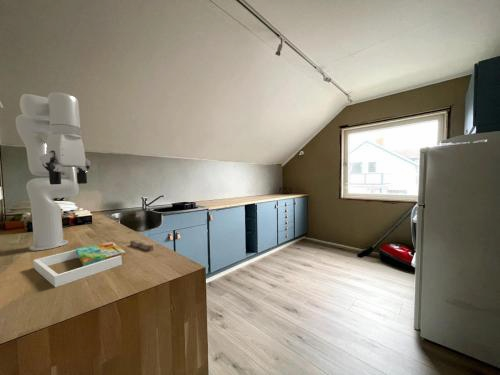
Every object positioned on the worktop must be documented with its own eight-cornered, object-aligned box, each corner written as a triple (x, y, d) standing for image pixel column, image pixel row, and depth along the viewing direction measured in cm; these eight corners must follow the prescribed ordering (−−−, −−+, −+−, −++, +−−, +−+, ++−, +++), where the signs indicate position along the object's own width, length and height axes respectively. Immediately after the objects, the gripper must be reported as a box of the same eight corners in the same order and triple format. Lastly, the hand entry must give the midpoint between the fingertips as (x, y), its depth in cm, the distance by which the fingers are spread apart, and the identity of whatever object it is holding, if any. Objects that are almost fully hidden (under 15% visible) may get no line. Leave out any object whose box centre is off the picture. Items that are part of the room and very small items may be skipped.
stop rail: (130, 245, 91) (130, 240, 91) (133, 244, 92) (133, 240, 92) (150, 251, 83) (150, 246, 82) (153, 250, 84) (152, 245, 83)
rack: (34, 268, 69) (33, 259, 69) (93, 252, 83) (93, 245, 83) (55, 287, 56) (54, 276, 56) (121, 264, 70) (121, 255, 70)
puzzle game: (111, 239, 86) (125, 249, 72) (112, 250, 86) (126, 262, 72) (75, 246, 78) (83, 259, 64) (76, 258, 78) (84, 274, 64)
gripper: (78, 138, 77) (81, 183, 78) (26, 126, 60) (30, 185, 60) (97, 137, 77) (100, 183, 77) (50, 125, 59) (55, 184, 60)
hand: (69, 183), depth 69 cm, fingers open, 9 cm apart
